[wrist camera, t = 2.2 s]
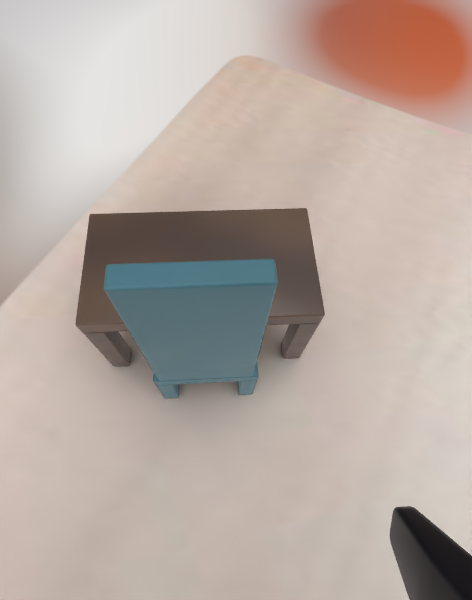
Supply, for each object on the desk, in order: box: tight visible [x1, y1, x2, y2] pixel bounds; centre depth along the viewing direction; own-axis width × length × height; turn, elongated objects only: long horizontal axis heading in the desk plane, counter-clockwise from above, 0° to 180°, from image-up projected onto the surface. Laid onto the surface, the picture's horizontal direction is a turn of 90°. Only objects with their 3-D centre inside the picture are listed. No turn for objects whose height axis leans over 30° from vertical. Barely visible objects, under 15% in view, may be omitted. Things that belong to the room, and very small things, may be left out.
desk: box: [76, 208, 325, 366], centre depth 21 cm, size 6×11×6 cm, turn 93°
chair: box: [104, 259, 278, 398], centre depth 17 cm, size 5×5×14 cm
